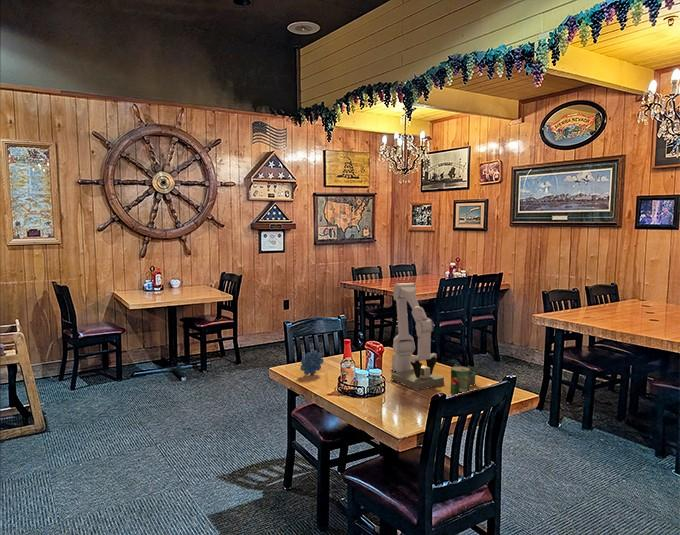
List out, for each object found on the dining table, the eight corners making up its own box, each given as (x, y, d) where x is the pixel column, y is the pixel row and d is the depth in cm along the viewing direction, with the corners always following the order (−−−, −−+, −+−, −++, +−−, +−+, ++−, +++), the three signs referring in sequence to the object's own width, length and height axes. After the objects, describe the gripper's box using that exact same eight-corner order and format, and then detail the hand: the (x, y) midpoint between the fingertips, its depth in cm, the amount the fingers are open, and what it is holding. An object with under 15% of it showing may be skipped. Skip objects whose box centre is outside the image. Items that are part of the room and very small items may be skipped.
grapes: (320, 371, 248) (320, 347, 247) (325, 375, 241) (325, 350, 240) (298, 373, 244) (298, 349, 243) (301, 377, 237) (301, 352, 236)
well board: (391, 379, 234) (391, 373, 233) (416, 374, 243) (416, 368, 243) (418, 390, 219) (418, 383, 219) (443, 383, 228) (444, 377, 228)
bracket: (479, 384, 227) (480, 365, 227) (464, 387, 223) (465, 368, 222) (465, 379, 235) (465, 360, 235) (450, 382, 231) (451, 363, 230)
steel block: (417, 384, 228) (417, 366, 227) (423, 382, 230) (423, 365, 230) (423, 386, 225) (423, 368, 224) (429, 384, 227) (430, 367, 226)
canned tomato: (446, 392, 216) (447, 367, 215) (458, 389, 221) (458, 364, 220) (461, 397, 210) (461, 372, 209) (473, 394, 214) (473, 368, 214)
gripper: (418, 350, 219) (418, 380, 220) (441, 345, 227) (441, 374, 228) (407, 347, 225) (407, 376, 226) (430, 342, 233) (430, 371, 234)
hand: (423, 375), depth 227 cm, fingers open, 7 cm apart
